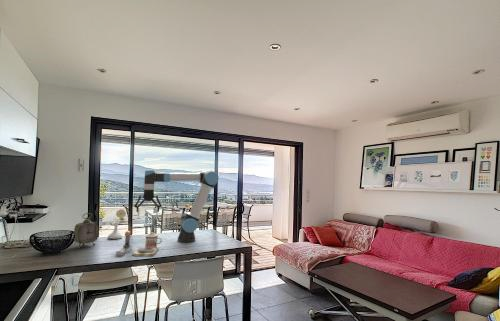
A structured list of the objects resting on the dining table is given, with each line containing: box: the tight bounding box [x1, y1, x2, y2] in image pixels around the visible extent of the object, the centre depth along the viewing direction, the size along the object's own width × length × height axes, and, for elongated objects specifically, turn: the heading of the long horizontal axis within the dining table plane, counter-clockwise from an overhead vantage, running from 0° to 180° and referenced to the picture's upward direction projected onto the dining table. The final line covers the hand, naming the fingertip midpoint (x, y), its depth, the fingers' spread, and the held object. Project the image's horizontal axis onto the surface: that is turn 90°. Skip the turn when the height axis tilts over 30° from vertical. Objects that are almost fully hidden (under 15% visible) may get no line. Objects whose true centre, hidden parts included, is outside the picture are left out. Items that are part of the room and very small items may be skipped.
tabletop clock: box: [73, 212, 100, 249], centre depth 198 cm, size 14×9×25 cm, turn 147°
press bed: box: [131, 247, 159, 257], centre depth 188 cm, size 14×14×2 cm
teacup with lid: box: [144, 231, 163, 248], centre depth 203 cm, size 12×9×12 cm
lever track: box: [115, 245, 133, 257], centre depth 187 cm, size 5×16×3 cm, turn 5°
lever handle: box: [122, 230, 132, 247], centre depth 192 cm, size 4×4×11 cm
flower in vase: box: [107, 208, 127, 240], centre depth 226 cm, size 13×11×25 cm
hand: (147, 216), depth 206 cm, fingers open, 13 cm apart
